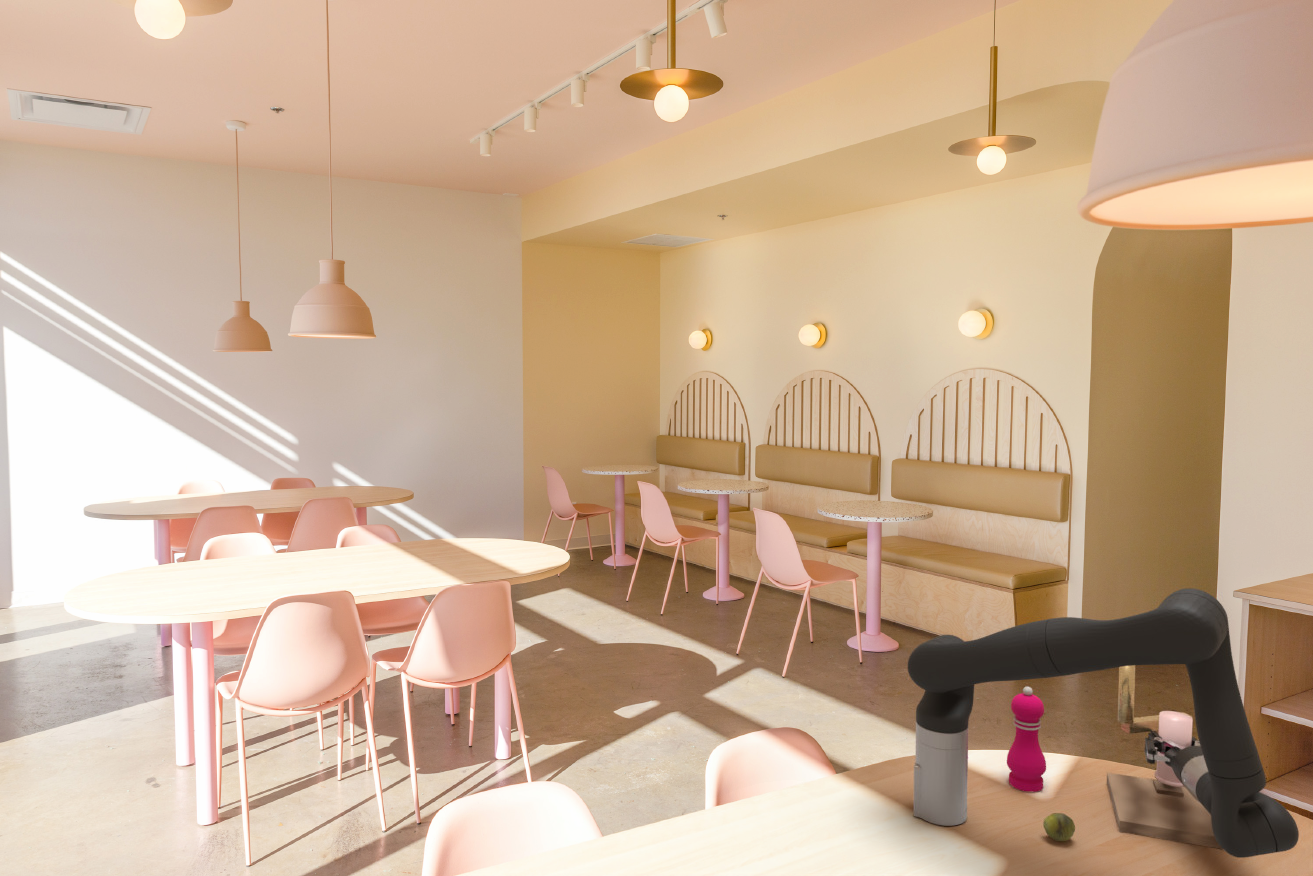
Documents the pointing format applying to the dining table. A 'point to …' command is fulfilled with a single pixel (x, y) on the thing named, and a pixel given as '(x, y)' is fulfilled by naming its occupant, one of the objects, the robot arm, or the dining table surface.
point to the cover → (1178, 732)
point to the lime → (1059, 826)
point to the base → (1159, 810)
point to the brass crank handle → (1132, 705)
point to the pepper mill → (1026, 743)
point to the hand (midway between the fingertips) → (1169, 737)
